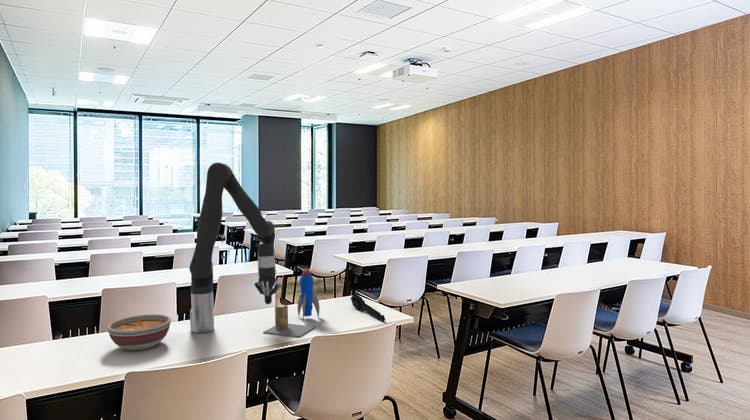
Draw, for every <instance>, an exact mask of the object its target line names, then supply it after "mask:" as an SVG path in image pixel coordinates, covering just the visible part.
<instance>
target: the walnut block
mask: <svg viewBox="0 0 750 420" xmlns="http://www.w3.org/2000/svg"><path fill="white" fill-rule="evenodd" d="M288 311H289V310H288V305H285V304H279V305H277V306H274V321H275V322H274V323H275V325H274V326H275V328H276V329H278V330H284V329H286V328H288V324H289V312H288Z"/></svg>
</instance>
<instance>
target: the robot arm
mask: <svg viewBox="0 0 750 420" xmlns="http://www.w3.org/2000/svg"><path fill="white" fill-rule="evenodd" d="M224 190H226V192H227V193H228V194H229V195H230V197H231V198H232V200H233V202H234V203H235V206H236V207H237V208H238V210H239V211H240V213H241V214H242V215H243V217H245V219H246V220H247V221H248V223H249V225H250V227H251V228H252V230H253V231H254V234H256V235H257V236H258V237H259V242H258V245H257V256H258V257H257V273H258V281H257V282H254V283H253V284H254V287H255V288H256V289H257V291H258V292H259V294H260V295H263V297H264V303H265V305H271V303H272V302H273V301H272V300H273V299H272V297H273V295H274V294H275V295H276V293H277V291H278V290H279V289H280V287H281V285H282V283H279V282H277V278H276V273H277V271H276V258H275V247H274V246H275V245H274V244H275V237H276V236H275V235H276V234H275V233H276V229H275V224H274V223H273V222H272V221H271V220H266V219H265V218H264V216H263V215H262V211H261V209H260V208H259V207H258V205H256V203H255V202H254V200H253V199H252V198H251V197H250V196H249V195H248V193H247V192H246V191H245V189H244V188H243V187H242V185H241V184H240V183H239V181H238V179H237V177H236V176H235V174H234V172H233V170H232V169H231V167H230V166H229V165H227V164H226V163H223V162H217V161H216V162H214V163H212V164H211V165H209V167H208V168H207V171H206V183H205V193H204V196H203V201H202V205H201V210H200V213H199V218H198V225H197V231H196V242H195V248H194V252H193V254H192V255H193V256H192V259H191V260H190V264H189V272H190V275H191V277H190V278H191V279H190V280H191V283H190V298H191V299H190V301H191V309H190V310H189V324H190V325H189V326H190V332H192V333H195V334H205V333H209V332H212V331H214V330H215V314H214V313H215V312H214V311H215V309H214V307H215V305H214V303H215V302H214V266H213V262H212V261H213V251H214V247H215V244H216V242H217V238H218V236H219V232H220V228H221V226H222V225H221V224H222V220H223V219H222V218H223V194H224V193H223V192H224Z"/></svg>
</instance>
